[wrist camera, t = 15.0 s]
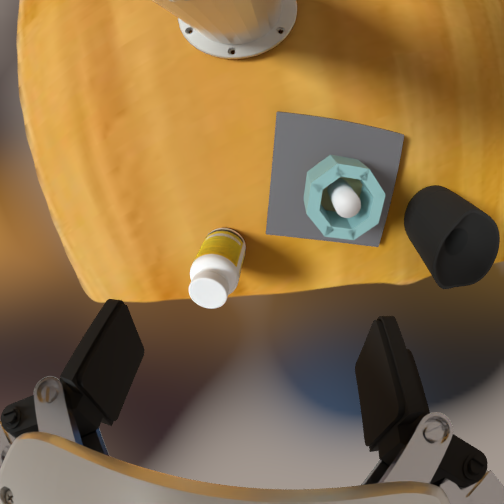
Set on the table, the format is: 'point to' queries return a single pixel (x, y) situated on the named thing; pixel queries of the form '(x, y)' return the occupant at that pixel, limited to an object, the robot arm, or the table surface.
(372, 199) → the ring
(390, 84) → the table surface
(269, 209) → the post stand
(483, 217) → the pen holder
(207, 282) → the supplement bottle
